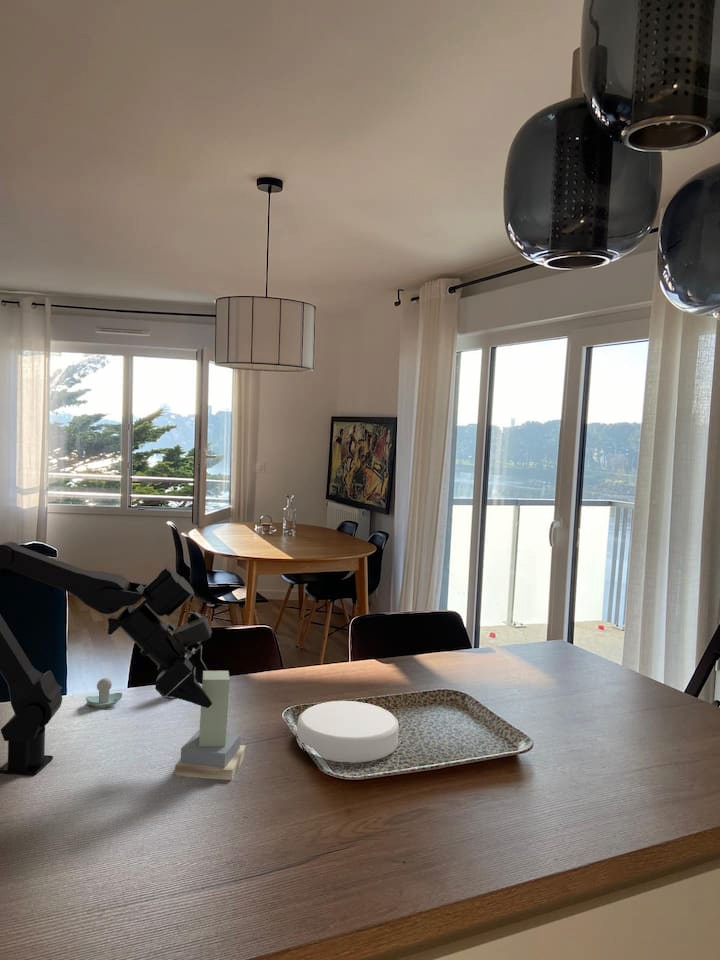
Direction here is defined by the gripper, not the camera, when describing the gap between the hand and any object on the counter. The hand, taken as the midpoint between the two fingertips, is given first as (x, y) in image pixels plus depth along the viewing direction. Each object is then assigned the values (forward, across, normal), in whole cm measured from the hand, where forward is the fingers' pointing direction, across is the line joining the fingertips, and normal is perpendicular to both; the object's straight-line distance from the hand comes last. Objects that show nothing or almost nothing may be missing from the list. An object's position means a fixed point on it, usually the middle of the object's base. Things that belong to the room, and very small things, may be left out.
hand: (212, 696), depth 128 cm
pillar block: (+6, 0, +6) cm, 8 cm away
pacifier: (-8, +29, +26) cm, 40 cm away
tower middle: (+8, 0, +7) cm, 11 cm away
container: (+27, +10, -9) cm, 31 cm away
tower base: (+10, 0, +9) cm, 13 cm away
